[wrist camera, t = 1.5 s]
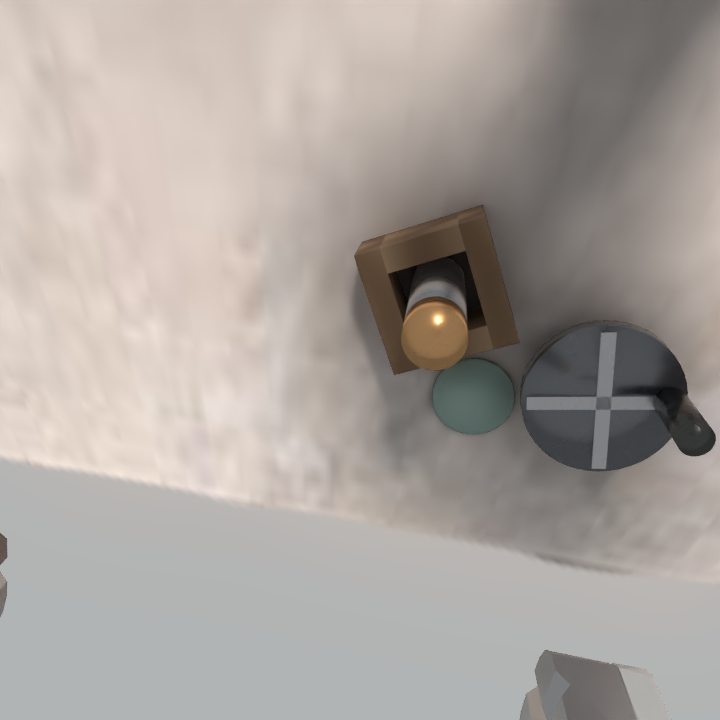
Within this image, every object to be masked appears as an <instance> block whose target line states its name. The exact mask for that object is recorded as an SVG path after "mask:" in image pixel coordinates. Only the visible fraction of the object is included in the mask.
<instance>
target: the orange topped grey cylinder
mask: <svg viewBox="0 0 720 720" xmlns="http://www.w3.org/2000/svg"><path fill="white" fill-rule="evenodd" d="M401 343H402V348H403V350H404V353H405V354H406V356H407V357H408V359H409V360H410V361H411V362H413V363H414V364H415V365H417V366H419V367H421V368H423V369H427V370H443V369H446V368H449V367H451V366H453V365H454V364H456V363H457V362H458V361H459V360H460V359H461V358H462V357H463V355H464V353H465V352H466V349H467V345H468V326H467V308H466V290H465V277H464V273H463V271H462V269H461V268H460V266H459V265H458V264H457V263H456V262H455V261H453V260H451V259H449V258H446V257H443V258H440V259H436V260H433V261H429V262H426V263H423V264H420V265H419V266H418V268H417V269H416V271H415V273H414V277H413V282H412V286H411V291H410V296H409V301H408V305H407V310H406V315H405V320H404V325H403V329H402V335H401Z"/></svg>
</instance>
